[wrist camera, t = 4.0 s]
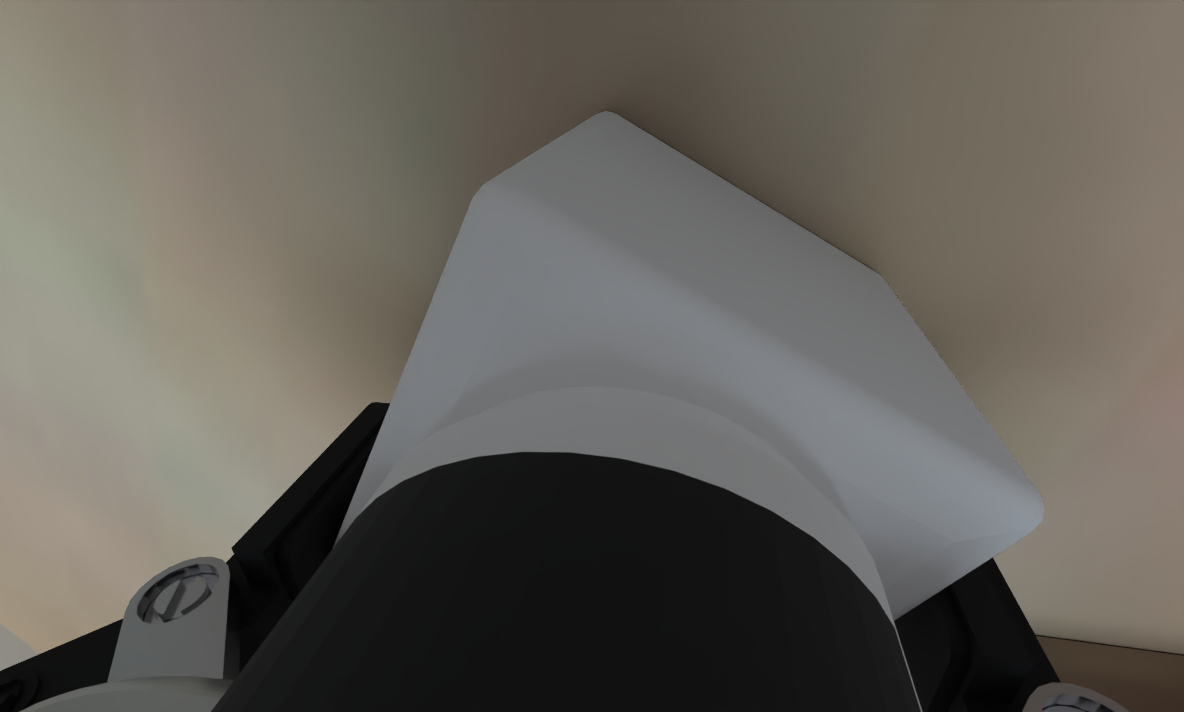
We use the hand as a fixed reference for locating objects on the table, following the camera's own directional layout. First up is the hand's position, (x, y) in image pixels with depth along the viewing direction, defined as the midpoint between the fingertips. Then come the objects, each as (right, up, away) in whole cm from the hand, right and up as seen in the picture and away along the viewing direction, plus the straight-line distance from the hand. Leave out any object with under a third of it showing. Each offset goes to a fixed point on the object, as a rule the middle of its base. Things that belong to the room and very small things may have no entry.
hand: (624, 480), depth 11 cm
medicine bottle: (+1, +3, +2) cm, 4 cm away
